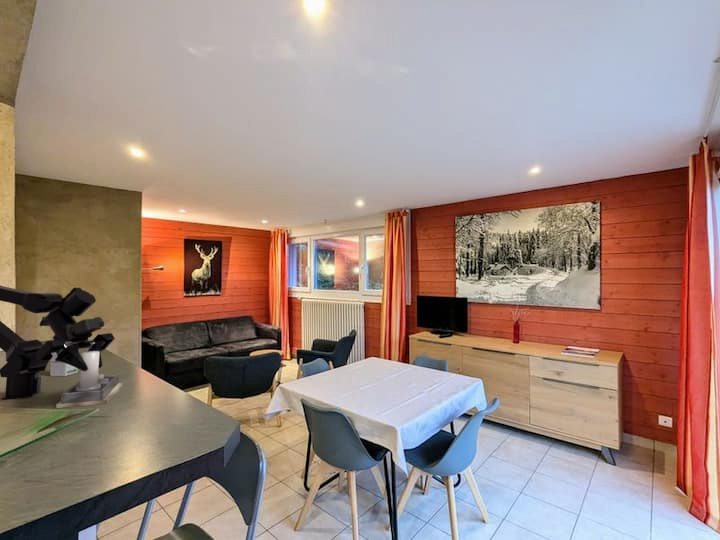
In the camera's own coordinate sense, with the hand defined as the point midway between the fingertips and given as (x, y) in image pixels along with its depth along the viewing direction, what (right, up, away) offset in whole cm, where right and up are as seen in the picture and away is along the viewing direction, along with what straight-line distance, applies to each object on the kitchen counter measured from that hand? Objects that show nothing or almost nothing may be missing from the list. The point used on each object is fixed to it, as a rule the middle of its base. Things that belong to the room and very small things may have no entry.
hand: (93, 368), depth 98 cm
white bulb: (-2, -7, 0) cm, 7 cm away
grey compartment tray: (-3, -9, +4) cm, 10 cm away
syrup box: (-32, -10, +27) cm, 43 cm away
